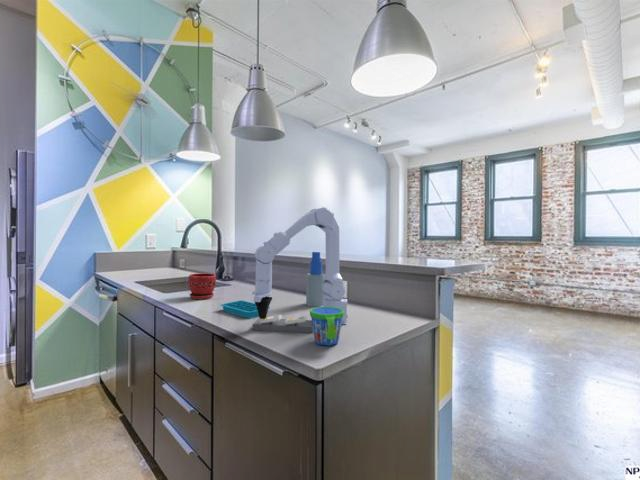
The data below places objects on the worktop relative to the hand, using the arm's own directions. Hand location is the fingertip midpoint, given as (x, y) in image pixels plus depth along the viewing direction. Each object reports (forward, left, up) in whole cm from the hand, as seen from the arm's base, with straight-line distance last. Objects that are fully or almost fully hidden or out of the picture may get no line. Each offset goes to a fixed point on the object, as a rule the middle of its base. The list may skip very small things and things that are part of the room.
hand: (262, 318), depth 112 cm
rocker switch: (-12, 0, 0) cm, 12 cm away
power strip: (-7, -2, -4) cm, 9 cm away
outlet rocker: (-3, 0, 0) cm, 3 cm away
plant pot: (+45, -45, -4) cm, 64 cm away
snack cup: (-24, +10, -4) cm, 26 cm away
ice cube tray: (+14, -21, -4) cm, 26 cm away
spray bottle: (-14, -40, -4) cm, 42 cm away
